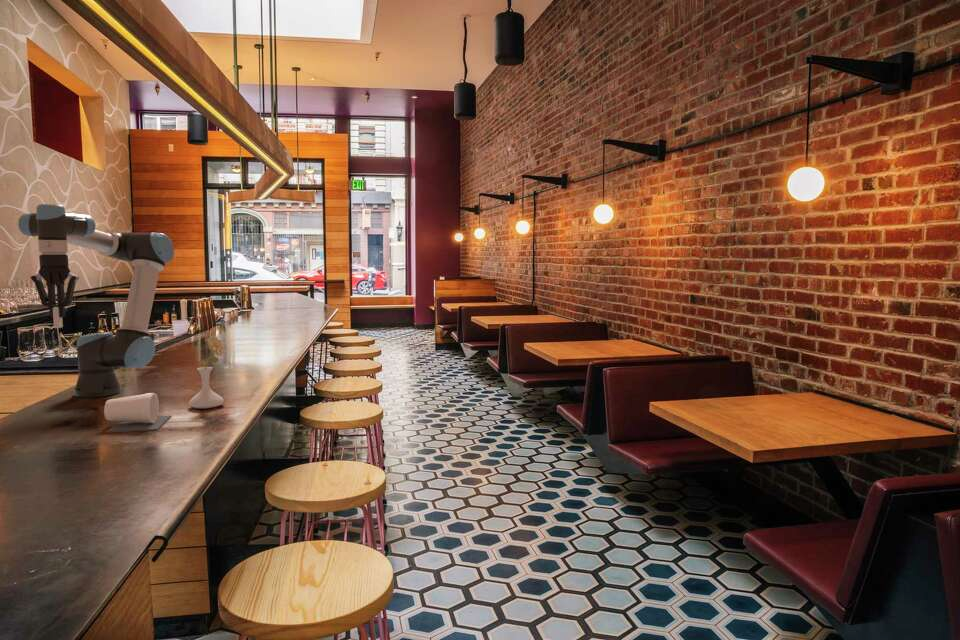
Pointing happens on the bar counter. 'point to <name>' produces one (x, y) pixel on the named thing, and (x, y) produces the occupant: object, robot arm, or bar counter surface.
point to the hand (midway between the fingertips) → (58, 327)
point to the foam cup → (133, 409)
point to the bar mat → (138, 425)
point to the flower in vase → (206, 395)
